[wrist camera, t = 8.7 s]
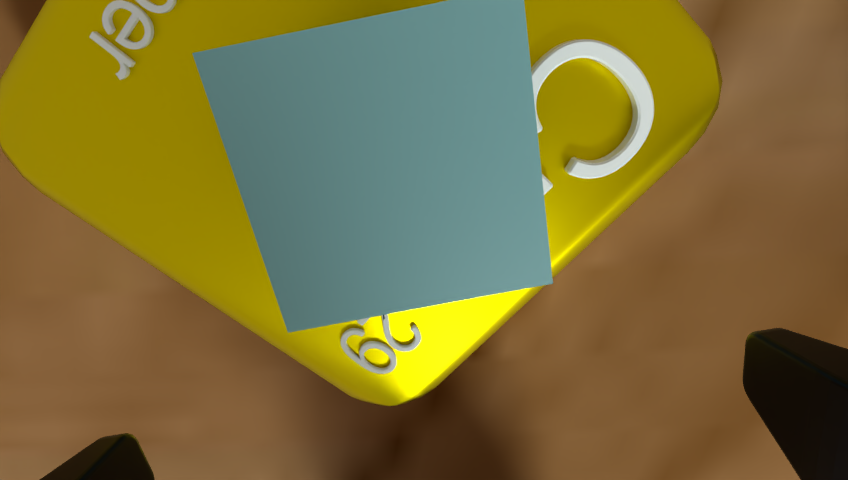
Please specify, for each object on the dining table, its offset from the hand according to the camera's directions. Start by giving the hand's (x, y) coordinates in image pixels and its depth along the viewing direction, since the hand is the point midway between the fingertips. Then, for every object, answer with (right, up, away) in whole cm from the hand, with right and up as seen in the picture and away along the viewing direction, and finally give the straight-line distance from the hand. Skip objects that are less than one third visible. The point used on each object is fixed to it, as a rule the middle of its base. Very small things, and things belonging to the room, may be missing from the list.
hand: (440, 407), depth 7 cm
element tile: (-2, +7, +10) cm, 13 cm away
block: (-1, +5, +6) cm, 8 cm away
